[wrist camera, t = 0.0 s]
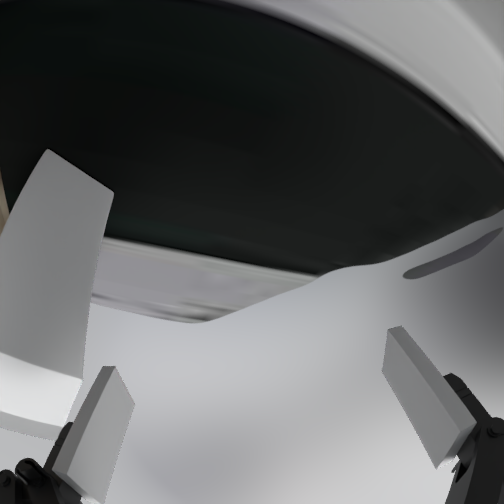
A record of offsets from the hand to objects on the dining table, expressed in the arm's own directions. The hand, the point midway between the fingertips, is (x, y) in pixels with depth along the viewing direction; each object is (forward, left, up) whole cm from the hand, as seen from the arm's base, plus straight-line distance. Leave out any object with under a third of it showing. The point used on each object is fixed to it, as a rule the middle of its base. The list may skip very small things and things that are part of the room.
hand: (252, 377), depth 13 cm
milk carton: (-1, -14, -16) cm, 21 cm away
